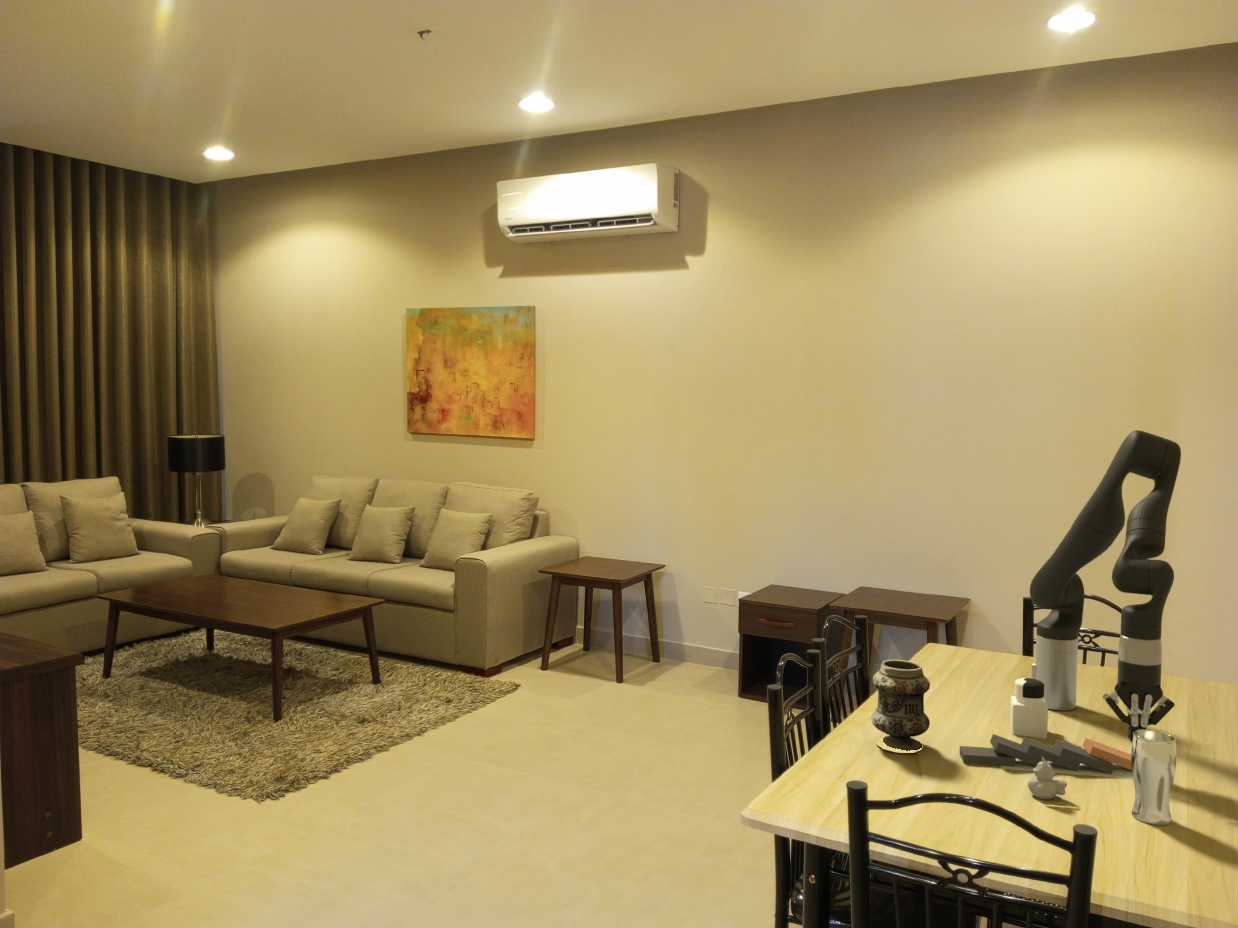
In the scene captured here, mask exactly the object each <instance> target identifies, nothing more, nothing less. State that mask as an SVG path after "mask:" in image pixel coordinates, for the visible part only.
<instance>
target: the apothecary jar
mask: <svg viewBox="0 0 1238 928" xmlns="http://www.w3.org/2000/svg"><path fill="white" fill-rule="evenodd" d="M880 665H881V666H880V669H879V670H878V671H877V672H876V673H874V675H873V677H872V683H873V684H872V685H873V686H874V688H876V689H877V691H878V692H877V697H878V698H877V708H875V709H874V710H873V712H872V713H871V715H870V716H871V719H870V720H871V723H872V725H873V726H874V727H875V729H877V730H878V731H880V732H882V733H884V734H886V736H883V737H884V738H883V742H884V743H885V744H886V745H887V746H889V747H892V748H895V749H896V748H897V749H901V750H906V751H908V750H909V751H910V750H918V749H920V748H922V744H923V743H922V742H921V741H919V740H918V741H917V739H916V738H914V737H919V736H921V735H923V734H924V733H926V732H927V731H928V729H930V724H931V723H930V719H929V718H930V717H928V715H927V714H926V713H925V706H924V703H925V702H924V700H925V699H924V698H925V694H926V693H927V692H928V691H929V689H930V688H931V687H930V686H931V682H930V680H929V678H928V677H927V676H926V675H925V674H924V671H923V667H922V665H921V664H919V663H917V662H915V661H911V660H904V659H886V660H883V661H882V662H881V664H880ZM915 739H916V740H915ZM920 742H921V743H922V744H921V743H920Z"/></svg>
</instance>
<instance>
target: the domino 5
mask: <svg viewBox="0 0 1238 928" xmlns="http://www.w3.org/2000/svg"><path fill="white" fill-rule="evenodd" d="M1081 747H1083V749H1085V750H1086V751H1087V752H1088V754H1089V755H1092V756H1095V757H1097V758H1100V759H1103V760H1105V761H1108V762H1111V763H1113V764H1116V765H1119V766H1122V767H1124V768H1127V769H1130V770H1132V765H1131V753H1128V752H1125V751H1122V750H1120V749H1117V748H1115V747H1112V746H1108V745H1106V744H1103V743H1100V742H1098V741H1095V740H1092V739H1090V738H1087V737H1085V738H1084V741H1083V743H1082V746H1081Z"/></svg>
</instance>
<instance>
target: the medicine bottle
mask: <svg viewBox="0 0 1238 928" xmlns="http://www.w3.org/2000/svg"><path fill="white" fill-rule="evenodd" d="M1009 715H1010V718H1009V719H1010V721H1009V725H1010V730H1011V734H1012V735H1013V736H1021V737H1024V736H1025V737H1027V738H1038V739H1048V723H1049V722H1048V721H1049V709H1048V708H1047V705H1046V702H1045V699H1044V684H1043V683H1042V682H1041V681H1039V680H1036V679H1032V677H1030V678H1029V677H1021V678H1018V679H1016V680H1015V681H1014V695H1011V697H1010V714H1009Z"/></svg>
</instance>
